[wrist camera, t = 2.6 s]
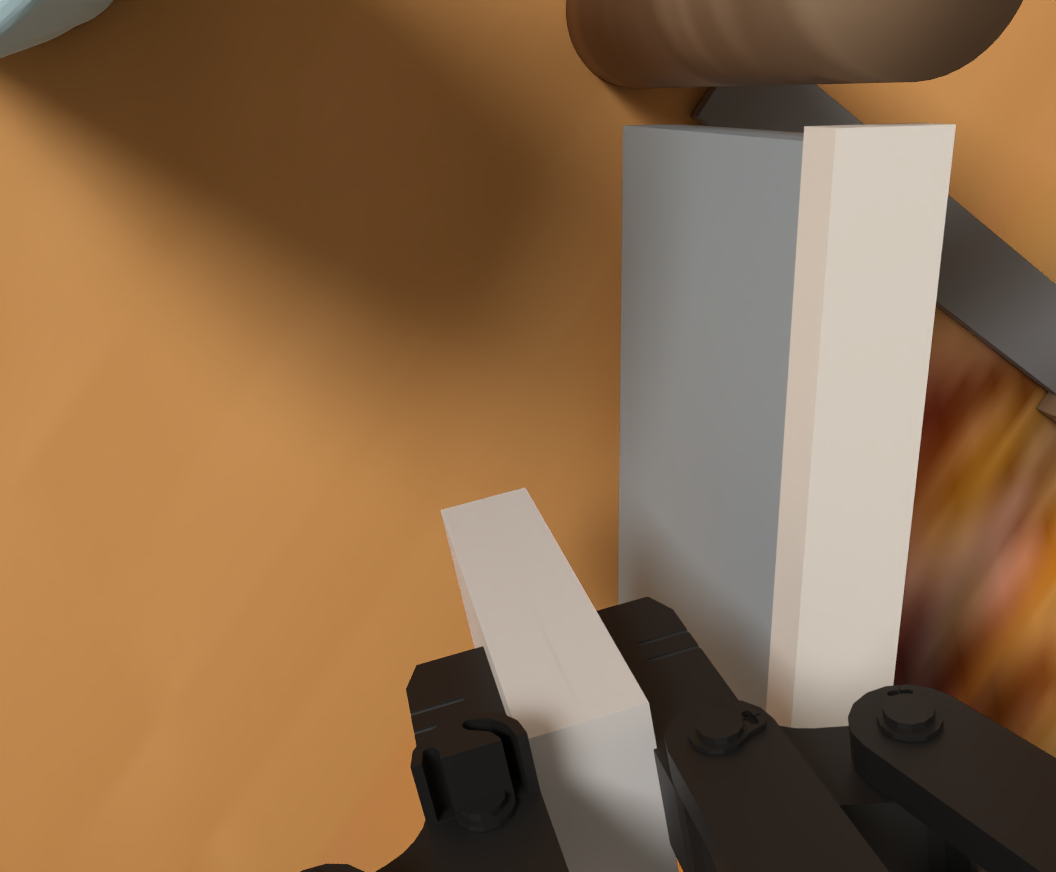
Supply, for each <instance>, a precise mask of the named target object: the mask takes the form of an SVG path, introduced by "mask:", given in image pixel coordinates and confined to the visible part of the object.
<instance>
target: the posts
mask: <svg viewBox="0 0 1056 872" xmlns="http://www.w3.org/2000/svg"><path fill="white" fill-rule="evenodd" d="M1022 1H1023V0H567V1H566V19H567V27H568V31H569V35H570V38H571V41H572V44H573V46H574V48H575V50H576V52H577V54H578V55H579V57H580V58H581V60H582V61H583V63H584V64H585V65H586V66H587V67H588V68H589V69H590V70H591V71H592V72H593V73H594V74H595V75H597V76H598V77H600V78H601V79H603V80H604V81H607V82H609V83H611V84H613V85H616V86H620V87H625V88H674V87H709V89H708V90H707V92H706V93H705V95H704V96H703V98H702V100H701V101H700V103H699V104H698V106H697V107H696V109H695V110H694V112H693V113H692V115H691V117H692V118H694V119H695V120H696V121H698V122H699V123H700V124H701V125H703V126H715V127H730V128H744V129H758V130H773V131H787V132H802V133H804V126H832V125H864V124H863V123H862V122H860V121H859V120H858V119H857V118H856V117H854V116H853V115H852V114H851V113H850V112H848V111H847V110H846V109H845V108H844V107H842V106H841V105H840V104H839V103H838V102H836V101H835V100H834V99H833V98H832V97H830V96H829V95H828V94H827V93H826V92H824V91H823V90H822V89H821V88H820V87H818V86H817V85H816V84H846V83H890V82H918V81H925V80H931V79H935V78H938V77H941V76H945V75H947V74H949V73H951V72H954V71H956V70H958V69H960V68H962V67H963V66H965V65H967V64H968V63H970V62H971V61H973V60H974V59H976V58H977V57H978V56H979V55H980V54H982V53H983V52H984V51H985V50H987V49H988V48H989V47H990V46H991V45H992V44H993V42H994V41H995V40H996V39H997V38H998V37H999V36H1000V35H1001V34H1002V32H1003V31H1004V30H1005V28H1006V27H1007V26H1008V25H1009V23H1010V22H1011V20H1012V19H1013V17H1014V15H1015V14H1016V12H1017V11H1018V9H1019V7H1020V5H1021V3H1022ZM936 306H937V307H939V308H940V309H941V310H943V311H944V312H945V313H947V314H948V315H949V316H950V317H952V318H953V319H954V320H956V321H957V322H958V323H960V324H961V325H962V326H963V327H965V328H966V329H967V330H969V331H970V332H971V333H972V334H974V335H975V336H976V337H978V338H979V339H980V340H982V341H983V342H984V343H985V344H987V345H988V346H989V347H991V348H992V349H993V350H995V351H996V352H997V353H998V354H1000V355H1001V356H1002V357H1004V358H1005V359H1006V360H1007V361H1009V362H1010V363H1011V364H1013V365H1014V366H1015V367H1017V368H1018V369H1019V370H1020V371H1022V372H1023V373H1024V374H1026V375H1027V376H1028V377H1030V378H1031V379H1032V380H1033V381H1035V382H1036V383H1037V384H1039V385H1040V386H1041V387H1043V388H1044V389H1045V390H1046V391H1048V393H1047V394H1046V396H1045V397H1044V398H1043V400H1042V401H1041V402H1040V404H1039V405H1038V406H1037V409H1038V410H1039V411H1040V412H1042V413H1043V414H1044V415H1046V416H1047V417H1048V418H1050V419H1051V420H1052V421H1054V422H1055V423H1056V284H1055V283H1053V282H1052V281H1051V280H1050V279H1049V278H1047V277H1046V276H1045V275H1044V274H1043V273H1041V272H1040V271H1039V270H1038V269H1037V268H1035V267H1034V266H1033V265H1032V264H1031V263H1029V262H1028V261H1027V260H1026V259H1025V258H1023V257H1022V256H1021V255H1020V254H1019V253H1017V252H1016V251H1015V250H1014V249H1013V248H1011V247H1010V246H1009V245H1008V244H1007V243H1005V242H1004V241H1003V240H1002V239H1001V238H999V237H998V236H997V235H996V234H995V233H993V232H992V231H991V230H990V229H989V228H987V227H986V226H985V225H984V224H983V223H981V222H980V221H979V220H978V219H977V218H975V217H974V216H973V215H972V214H971V213H969V212H968V211H967V210H966V209H965V208H963V207H962V206H961V205H960V204H959V203H957V202H956V201H955V200H954V199H953V198H951V197H950V196H949V195H948V200H947V209H946V218H945V226H944V235H943V244H942V253H941V262H940V271H939V280H938V289H937V298H936Z"/></svg>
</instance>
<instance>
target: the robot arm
mask: <svg viewBox="0 0 1056 872" xmlns="http://www.w3.org/2000/svg"><path fill="white" fill-rule="evenodd" d="M441 514H442V518H443V522H444V526H445V530H446V534H447V538H448V542H449V546H450V550H451V554H452V558H453V563H454V567H455V571H456V575H457V579H458V583H459V587H460V591H461V595H462V599H463V603H464V607H465V611H466V616H467V620H468V624H469V628H470V632H471V636H472V640H473V644H474V647H475V649H471V650H468V651H465V652H461V653H458V654H454V655H451V656H447V657H444V658H440V659H437V660H433V661H430V662H426V663H423V664H419V665H416V668H415V670H414V672H413V675H412V677H411V679H410V681H409V684H408V686H407V688H406V691H407V697H408V702H409V708H410V713H411V718H412V724H413V729H414V733H415V740H416V745H417V746H416V748H415V749H414V751H413V753H412V761H411V770H412V774H413V777H414V781H415V784H416V788H417V791H418V795H419V798H420V802H421V805H422V809H423V812H424V816H425V819H426V820H425V823H424V826H423V829H422V830H421V832H420V833H419V835H418V837H417V838H416V840H415V841H414V842H413V843H412V844H411V845H410V846H409V847H408V849H407V850H406V851H405V852H404V853H403V854H401V855H400V856H399V857H397V858H396V859H394V860H393V861H392V862H390V863H389V864H387V865H386V866H384V867H382V868H381V869H379V870H377V871H376V872H679V871H678V865H677V860H676V857H677V859H678V861H679V863H680V865H681V867H682V869H683V871H684V872H1056V758H1055V757H1053V756H1051V755H1050V754H1048V753H1046V752H1045V751H1043V750H1041V749H1039V748H1038V747H1036V746H1034V745H1033V744H1031V743H1029V742H1028V741H1026V740H1024V739H1023V738H1021V737H1019V736H1018V735H1016V734H1014V733H1013V732H1011V731H1009V730H1008V729H1006V728H1004V727H1003V726H1001V725H999V724H998V723H996V722H994V721H993V720H991V719H989V718H988V717H986V716H984V715H983V714H981V713H979V712H977V711H976V710H974V709H972V708H971V707H969V706H967V705H966V704H964V703H962V702H961V701H959V700H957V699H956V698H954V697H952V696H950V695H948V694H945V693H943V692H940V691H938V690H936V689H933V688H929V687H922V686H916V685H909V684H907V685H894V686H885V687H882V688H879V689H876V690H873V691H870V692H867V693H866V694H865V695H863V696H862V697H861V698H860V699H858V700H857V701H856V702H855V703H853V705H852V708H851V710H850V713H849V715H848V725H849V726H839V727H825V728H791V727H785V726H779V725H778V723H777V722H776V721H775V719H774V718H773V717H771V716H770V715H769V714H768V713H767V712H766V711H764V710H763V709H762V708H761V707H758V706H756V705H753V704H750V703H747V702H744V701H740V700H738V699H737V697H736V696H735V695H734V693H733V692H732V690H731V689H730V688H729V686H728V685H727V683H726V682H725V681H724V679H723V678H722V677H721V675H720V674H719V672H718V671H717V670H716V668H715V667H714V665H713V664H712V663H711V661H710V660H709V659H708V657H707V656H706V654H705V653H704V652H703V650H702V649H701V648H699V646H698V643H697V642H696V641H695V639H694V638H693V636H692V635H691V634H690V632H688V631H687V628H686V627H685V625H684V624H683V623H682V621H681V620H680V618H679V617H678V616H677V614H676V613H675V612H674V610H673V609H671V608H669V607H667V606H665V605H664V604H662V603H660V602H658V601H656V600H654V599H652V598H650V597H648V596H647V597H644V598H640V599H637V600H633V601H630V602H626V603H623V604H619V605H616V606H612V607H609V608H605V609H602V610H598V611H596V610H595V608H594V606H593V604H592V603H591V601H590V599H589V597H588V596H587V594H586V592H585V591H584V589H583V587H582V585H581V584H580V582H579V580H578V578H577V577H576V575H575V573H574V571H573V570H572V568H571V566H570V564H569V563H568V561H567V559H566V557H565V556H564V554H563V552H562V551H561V549H560V547H559V545H558V544H557V542H556V540H555V538H554V537H553V535H552V533H551V531H550V530H549V528H548V526H547V524H546V523H545V521H544V519H543V517H542V516H541V514H540V512H539V511H538V509H537V507H536V505H535V504H534V502H533V500H532V498H531V497H530V495H529V493H528V491H527V490H526V488H521V489H518V490H514V491H510V492H506V493H503V494H499V495H495V496H491V497H488V498H484V499H480V500H476V501H473V502H469V503H465V504H461V505H458V506H454V507H450V508H446V509H443V510H441ZM301 872H364V871H362V870H359V869H357V868H355V867H353V866H350V865H348V864H324V865H320V866H317V867H313V868H310V869H306V870H303V871H301Z"/></svg>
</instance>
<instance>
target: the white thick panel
mask: <svg viewBox="0 0 1056 872" xmlns="http://www.w3.org/2000/svg"><path fill="white" fill-rule="evenodd" d="M955 128H956V125H955V124H931V123H900V124H866V125H832V126H804V133H802V132H787V131H773V130H758V129H744V128H730V127H715V126H701V125H687V124H662V125H627V126H623V177H622V275H621V372H620V470H619V567H618V605H619V604H623V603H626V602H630V601H633V600H637V599H640V598H644V597H647V596H648V597H650V598H652V599H654V600H656V601H658V602H660V603H662V604H664V605H665V606H667V607H669V608H671V609H673V610H674V612H675V613H676V614H677V616H678V617H679V618H680V620H681V621H682V623H683V624H684V625H685V627H686V628H687V631H688V632H690V634H691V635H692V636H693V638H694V639H695V641H696V642H697V643H698V646H699V648H701V649H702V650H703V652H704V653H705V654H706V656H707V657H708V659H709V660H710V661H711V663H712V664H713V665H714V667H715V668H716V670H717V671H718V672H719V674H720V675H721V677H722V678H723V679H724V681H725V682H726V683H727V685H728V686H729V688H730V689H731V690H732V692H733V693H734V695H735V696H736V697H737V699H738V700H740V701H744V702H747V703H750V704H753V705H756V706H758V707H761V708H762V709H763V710H764V711H766V712H767V713H768V714H769V715H770V716H771V717H773V718H774V719H775V721H776V722H777V723H778V725H779V726H785V727H791V728H825V727H839V726H849V725H848V715H849V713H850V710H851V708H852V705H853V703H855V702H856V701H857V700H858V699H860V698H861V697H862V696H863V695H865V694H866V693H867V692H870V691H873V690H876V689H879V688H882V687H885V686H893V683H894V674H895V665H896V656H897V647H898V638H899V629H900V621H901V612H902V603H903V594H904V585H905V576H906V567H907V558H908V549H909V540H910V531H911V522H912V513H913V504H914V495H915V486H916V477H917V468H918V459H919V450H920V441H921V432H922V424H923V415H924V406H925V397H926V388H927V379H928V370H929V361H930V352H931V343H932V334H933V325H934V316H935V307H936V298H937V289H938V280H939V271H940V262H941V253H942V244H943V235H944V226H945V218H946V209H947V200H948V191H949V182H950V173H951V164H952V155H953V146H954V137H955Z"/></svg>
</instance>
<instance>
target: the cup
mask: <svg viewBox="0 0 1056 872" xmlns="http://www.w3.org/2000/svg"><path fill="white" fill-rule="evenodd" d="M112 2H113V0H0V58H3V57H6V56H8V55H11V54H14V53H17V52H20V51H23V50H25V49H28V48H31V47H34V46H36V45H39V44H42V43H45V42H47V41H49V40H51V39H54V38H56V37H58V36H60V35H62V34H64V33H66V32H67V31H69V30H71V29H72V28H74V27H75V26H78V25H80V24H83V23H85V22H87V21H90V20H91V19H93V18H95V17H96V16H98V15H99V14H100V13H102V12H103V11H104V10H105V9H106V8H107V7H108V6H109V5H110V4H111V3H112Z"/></svg>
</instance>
